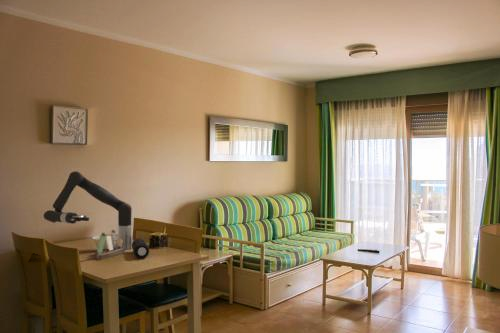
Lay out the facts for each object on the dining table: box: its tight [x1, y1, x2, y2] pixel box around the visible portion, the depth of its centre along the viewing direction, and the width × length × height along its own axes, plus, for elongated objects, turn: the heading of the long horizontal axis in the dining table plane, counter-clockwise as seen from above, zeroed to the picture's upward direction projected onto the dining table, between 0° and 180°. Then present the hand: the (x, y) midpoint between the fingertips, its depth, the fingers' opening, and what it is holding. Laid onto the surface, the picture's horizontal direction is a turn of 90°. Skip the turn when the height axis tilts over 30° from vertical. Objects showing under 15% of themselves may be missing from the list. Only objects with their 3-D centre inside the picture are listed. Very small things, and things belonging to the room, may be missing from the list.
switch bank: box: [90, 246, 125, 261], centre depth 290 cm, size 9×23×5 cm, turn 157°
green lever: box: [96, 232, 107, 254], centre depth 281 cm, size 3×4×15 cm
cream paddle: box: [105, 234, 114, 251], centre depth 293 cm, size 1×4×10 cm, turn 157°
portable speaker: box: [131, 237, 150, 259], centre depth 294 cm, size 26×10×10 cm, turn 20°
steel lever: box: [110, 229, 118, 249], centre depth 299 cm, size 2×3×13 cm
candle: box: [148, 232, 168, 248], centre depth 325 cm, size 10×10×10 cm
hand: (88, 219), depth 286 cm, fingers closed
